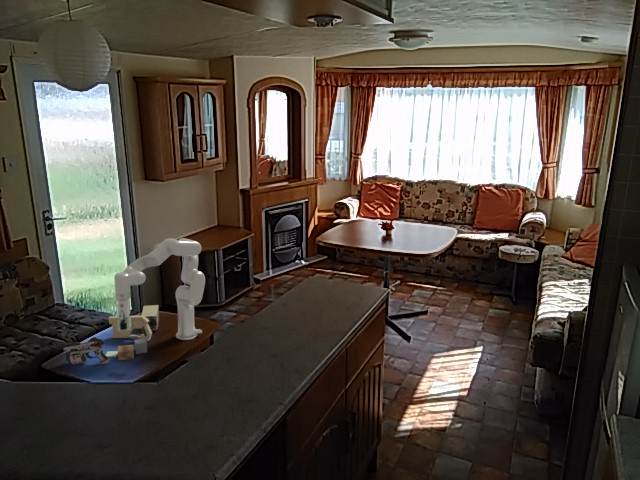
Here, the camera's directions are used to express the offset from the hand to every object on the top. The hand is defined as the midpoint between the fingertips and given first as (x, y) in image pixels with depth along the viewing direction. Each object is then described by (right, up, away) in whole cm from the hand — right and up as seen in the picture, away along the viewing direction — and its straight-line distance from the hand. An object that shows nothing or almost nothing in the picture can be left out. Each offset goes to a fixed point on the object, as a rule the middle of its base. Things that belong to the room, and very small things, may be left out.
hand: (124, 326), depth 284 cm
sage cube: (0, -1, 0) cm, 1 cm away
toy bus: (-1, -7, +47) cm, 47 cm away
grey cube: (+5, -16, +11) cm, 20 cm away
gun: (-6, -12, +27) cm, 30 cm away
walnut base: (-1, -17, +4) cm, 18 cm away
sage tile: (-9, -16, +5) cm, 19 cm away
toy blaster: (-18, -19, -5) cm, 27 cm away
